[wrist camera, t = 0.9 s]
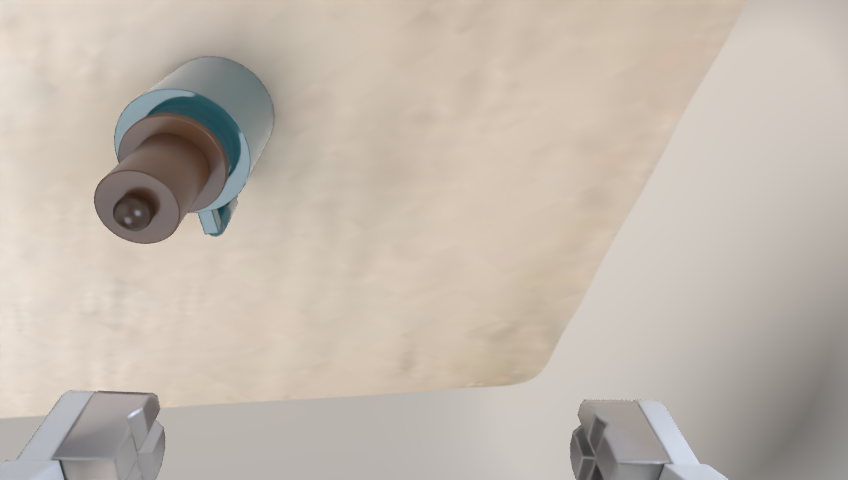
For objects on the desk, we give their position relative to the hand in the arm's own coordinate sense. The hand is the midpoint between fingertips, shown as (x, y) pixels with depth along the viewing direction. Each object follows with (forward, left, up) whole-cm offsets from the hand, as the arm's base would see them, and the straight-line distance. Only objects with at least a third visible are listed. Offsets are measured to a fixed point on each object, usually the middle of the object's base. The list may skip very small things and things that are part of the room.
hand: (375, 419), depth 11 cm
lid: (+4, -14, -29) cm, 32 cm away
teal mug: (+6, -14, -40) cm, 43 cm away
